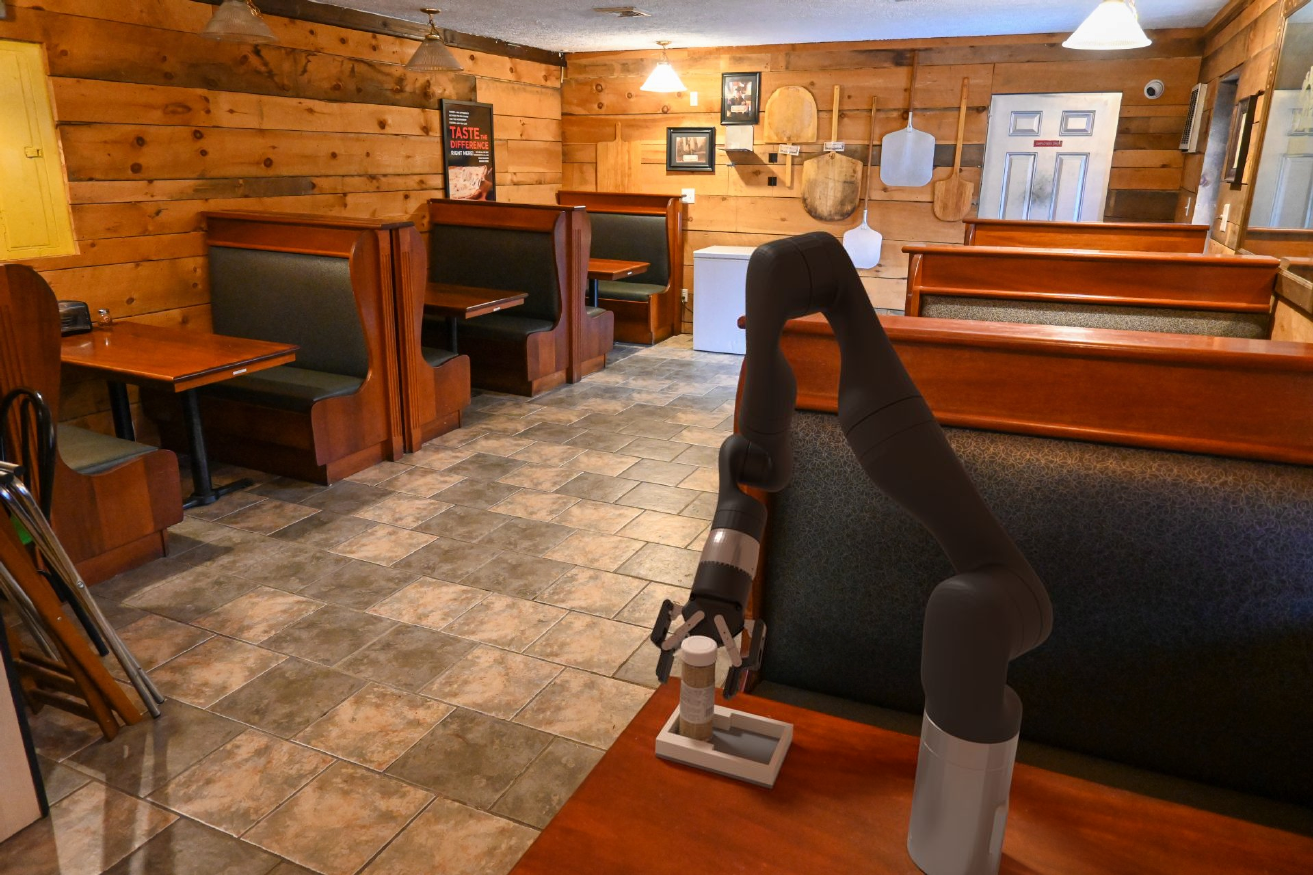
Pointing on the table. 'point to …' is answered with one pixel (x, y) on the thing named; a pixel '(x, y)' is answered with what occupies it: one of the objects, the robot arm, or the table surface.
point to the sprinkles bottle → (697, 688)
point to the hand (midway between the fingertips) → (693, 690)
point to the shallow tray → (731, 746)
